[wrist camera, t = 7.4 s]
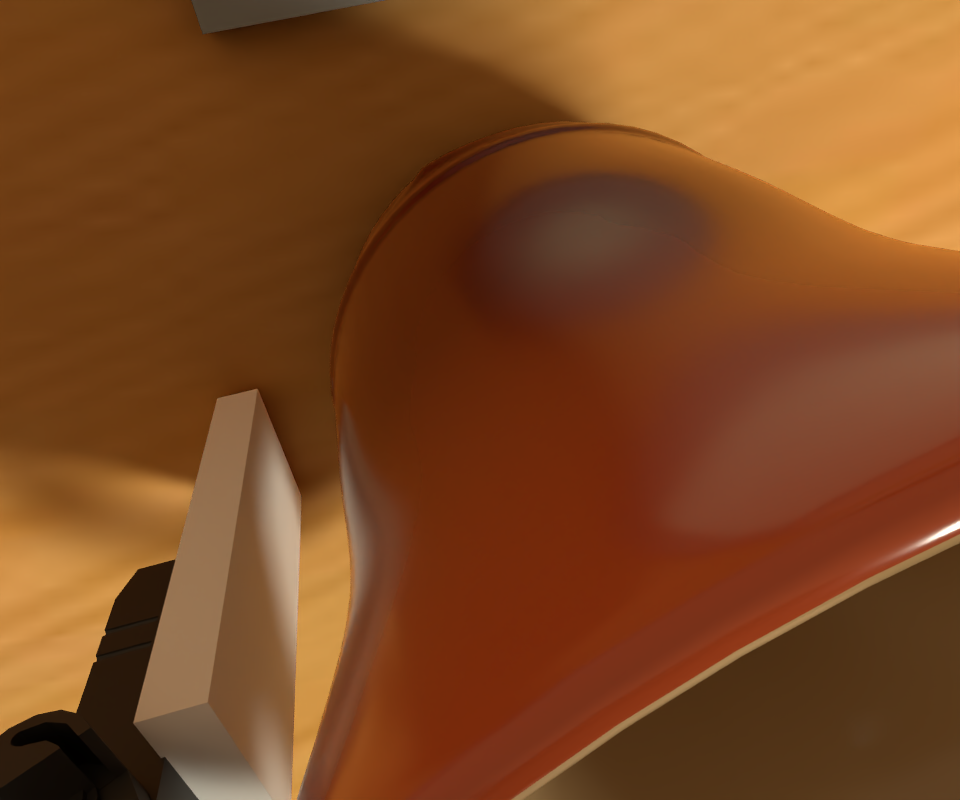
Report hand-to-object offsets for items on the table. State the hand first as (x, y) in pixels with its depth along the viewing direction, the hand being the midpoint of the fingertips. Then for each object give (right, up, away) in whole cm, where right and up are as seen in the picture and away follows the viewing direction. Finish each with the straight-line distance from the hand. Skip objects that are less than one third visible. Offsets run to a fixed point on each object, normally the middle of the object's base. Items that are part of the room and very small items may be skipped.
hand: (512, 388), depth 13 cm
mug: (0, 0, 0) cm, 0 cm away
